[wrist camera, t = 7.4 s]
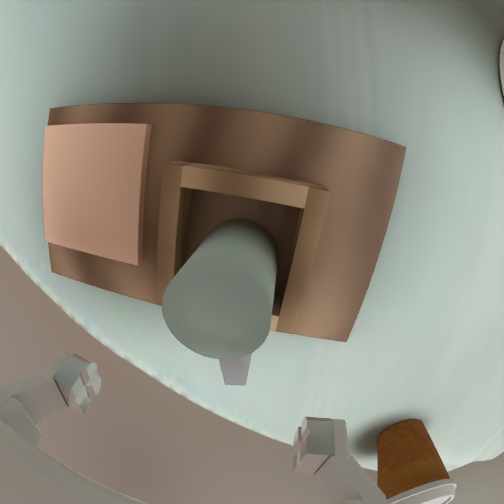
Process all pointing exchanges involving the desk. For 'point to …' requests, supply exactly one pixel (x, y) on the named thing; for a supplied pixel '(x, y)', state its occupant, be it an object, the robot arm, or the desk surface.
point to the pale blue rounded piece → (225, 296)
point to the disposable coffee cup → (411, 466)
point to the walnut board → (253, 205)
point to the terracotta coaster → (96, 188)
